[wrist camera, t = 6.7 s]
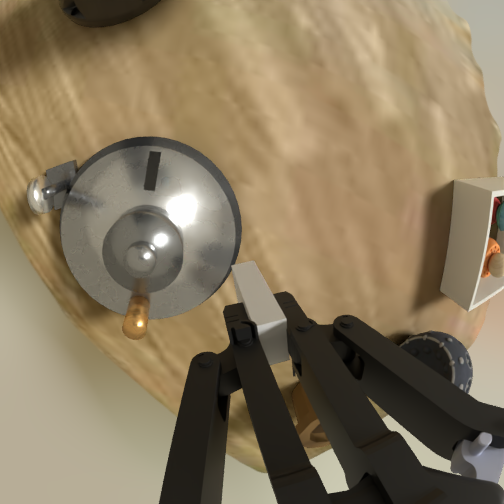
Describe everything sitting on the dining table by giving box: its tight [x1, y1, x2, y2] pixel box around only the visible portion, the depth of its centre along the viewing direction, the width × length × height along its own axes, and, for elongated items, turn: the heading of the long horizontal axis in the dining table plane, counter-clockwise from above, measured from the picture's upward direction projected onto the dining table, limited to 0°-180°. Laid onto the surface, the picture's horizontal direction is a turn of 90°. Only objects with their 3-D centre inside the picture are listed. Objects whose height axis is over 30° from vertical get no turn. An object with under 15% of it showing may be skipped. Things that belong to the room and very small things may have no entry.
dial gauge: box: [27, 160, 78, 215], centre depth 24 cm, size 5×4×8 cm
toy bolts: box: [481, 197, 504, 278], centre depth 41 cm, size 18×17×12 cm
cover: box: [102, 205, 184, 293], centre depth 26 cm, size 8×8×6 cm
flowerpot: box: [292, 382, 330, 448], centre depth 36 cm, size 14×14×30 cm
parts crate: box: [440, 177, 504, 312], centre depth 42 cm, size 23×24×9 cm
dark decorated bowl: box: [399, 331, 473, 394], centre depth 44 cm, size 11×20×20 cm, turn 156°
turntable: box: [61, 146, 235, 340], centre depth 27 cm, size 20×20×6 cm
